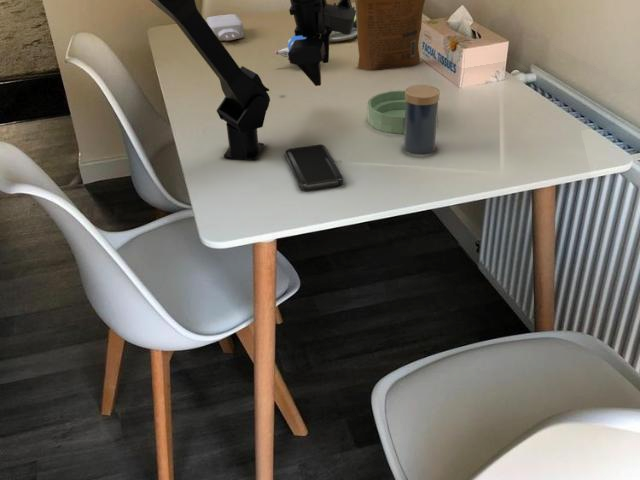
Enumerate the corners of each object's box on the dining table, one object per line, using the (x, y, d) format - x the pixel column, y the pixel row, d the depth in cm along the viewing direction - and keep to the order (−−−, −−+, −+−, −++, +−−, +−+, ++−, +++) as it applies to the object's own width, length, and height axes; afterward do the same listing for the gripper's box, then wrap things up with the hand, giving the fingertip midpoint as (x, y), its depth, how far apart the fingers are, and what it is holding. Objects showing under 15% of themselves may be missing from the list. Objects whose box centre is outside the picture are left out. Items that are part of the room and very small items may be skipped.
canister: (426, 160, 125) (429, 100, 119) (396, 152, 129) (398, 93, 122) (441, 147, 130) (445, 88, 123) (412, 140, 133) (415, 82, 126)
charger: (215, 48, 185) (207, 33, 197) (248, 44, 187) (238, 29, 199) (213, 31, 182) (205, 16, 194) (246, 27, 184) (237, 13, 196)
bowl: (432, 138, 133) (433, 118, 131) (362, 134, 136) (362, 114, 134) (437, 110, 145) (438, 92, 142) (372, 107, 147) (373, 89, 145)
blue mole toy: (271, 61, 174) (268, 29, 170) (315, 56, 177) (314, 24, 172) (281, 77, 165) (279, 43, 160) (327, 71, 167) (326, 37, 162)
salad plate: (346, 49, 180) (346, 32, 178) (289, 41, 187) (288, 25, 185) (375, 29, 194) (376, 13, 192) (321, 23, 202) (320, 7, 199)
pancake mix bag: (431, 66, 167) (438, -54, 152) (357, 74, 164) (356, -48, 149) (422, 58, 173) (428, -59, 157) (350, 65, 170) (349, -53, 154)
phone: (301, 186, 116) (284, 149, 129) (301, 191, 117) (284, 154, 129) (344, 179, 118) (324, 143, 130) (344, 185, 118) (324, 148, 131)
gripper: (340, 13, 114) (355, 93, 124) (354, -29, 128) (367, 47, 138) (278, 21, 117) (298, 99, 127) (299, -21, 131) (315, 53, 141)
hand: (322, 73), depth 133 cm, fingers open, 9 cm apart
